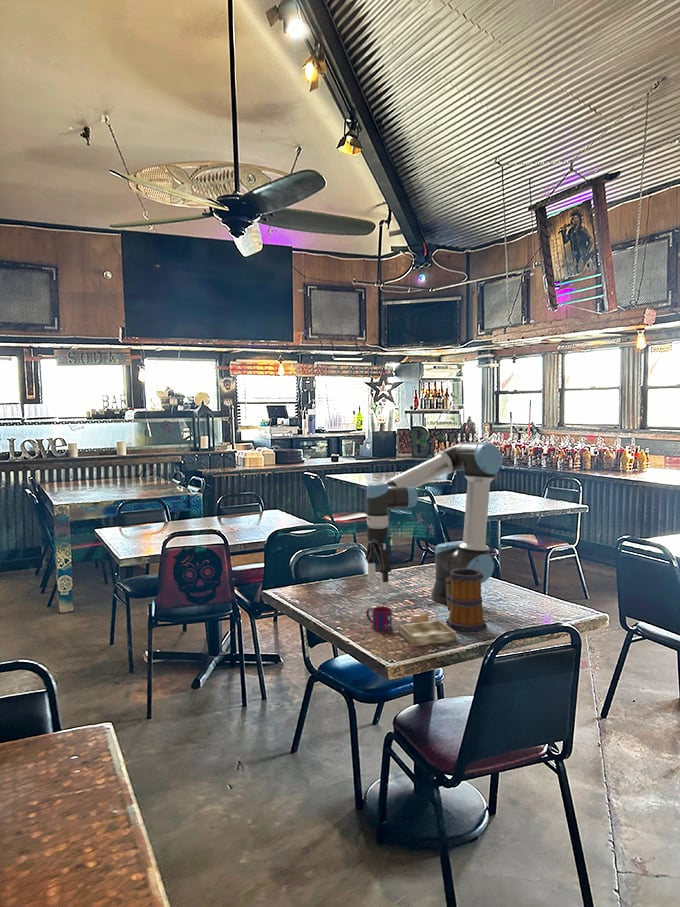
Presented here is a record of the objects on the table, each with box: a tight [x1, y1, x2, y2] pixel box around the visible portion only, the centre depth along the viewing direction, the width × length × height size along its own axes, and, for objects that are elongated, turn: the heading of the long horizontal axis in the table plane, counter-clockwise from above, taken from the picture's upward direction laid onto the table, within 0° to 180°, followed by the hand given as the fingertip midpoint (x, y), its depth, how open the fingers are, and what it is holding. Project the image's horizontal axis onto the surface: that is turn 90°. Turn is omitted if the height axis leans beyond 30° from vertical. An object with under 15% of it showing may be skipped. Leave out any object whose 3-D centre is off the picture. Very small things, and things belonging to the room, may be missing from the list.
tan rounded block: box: [410, 611, 429, 624], centre depth 230 cm, size 6×6×4 cm
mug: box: [445, 568, 488, 635], centre depth 227 cm, size 19×14×20 cm
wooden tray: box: [398, 619, 457, 647], centre depth 216 cm, size 16×13×3 cm
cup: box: [366, 606, 393, 632], centre depth 227 cm, size 7×10×7 cm
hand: (377, 585), depth 226 cm, fingers open, 13 cm apart
